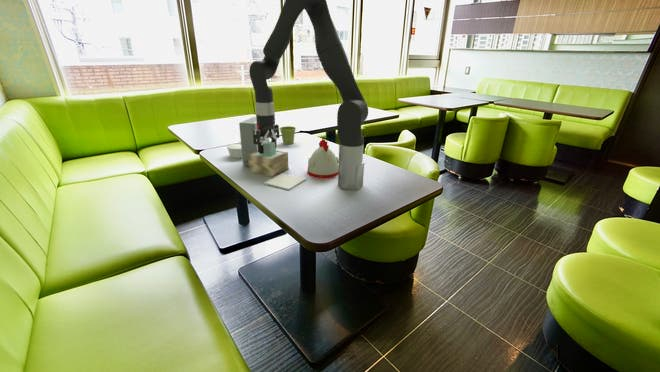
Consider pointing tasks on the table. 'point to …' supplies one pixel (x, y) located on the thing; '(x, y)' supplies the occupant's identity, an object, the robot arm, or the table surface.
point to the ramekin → (235, 150)
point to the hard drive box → (248, 138)
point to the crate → (268, 164)
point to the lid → (269, 150)
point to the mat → (285, 181)
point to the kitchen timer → (323, 162)
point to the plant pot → (288, 134)
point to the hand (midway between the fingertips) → (267, 150)
